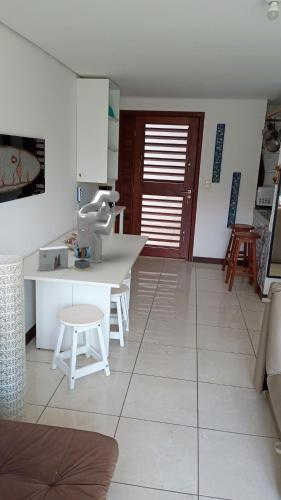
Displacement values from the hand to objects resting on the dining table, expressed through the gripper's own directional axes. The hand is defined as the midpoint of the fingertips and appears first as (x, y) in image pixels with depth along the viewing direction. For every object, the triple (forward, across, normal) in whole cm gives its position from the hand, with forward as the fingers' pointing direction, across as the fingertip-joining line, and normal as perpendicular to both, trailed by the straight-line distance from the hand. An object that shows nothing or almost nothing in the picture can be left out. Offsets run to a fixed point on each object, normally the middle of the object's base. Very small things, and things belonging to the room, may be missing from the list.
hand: (82, 256), depth 281 cm
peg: (+1, 0, 0) cm, 1 cm away
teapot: (+9, -21, -26) cm, 35 cm away
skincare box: (+10, +18, -10) cm, 23 cm away
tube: (+9, 0, 0) cm, 9 cm away
